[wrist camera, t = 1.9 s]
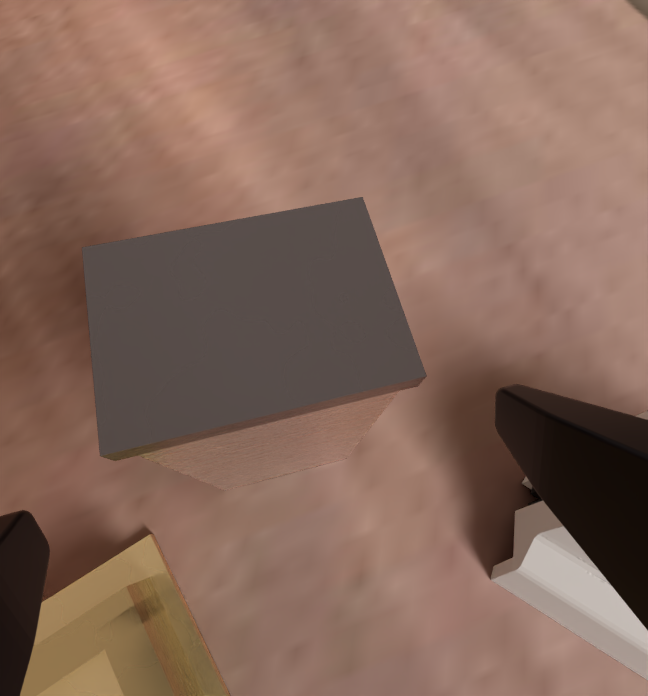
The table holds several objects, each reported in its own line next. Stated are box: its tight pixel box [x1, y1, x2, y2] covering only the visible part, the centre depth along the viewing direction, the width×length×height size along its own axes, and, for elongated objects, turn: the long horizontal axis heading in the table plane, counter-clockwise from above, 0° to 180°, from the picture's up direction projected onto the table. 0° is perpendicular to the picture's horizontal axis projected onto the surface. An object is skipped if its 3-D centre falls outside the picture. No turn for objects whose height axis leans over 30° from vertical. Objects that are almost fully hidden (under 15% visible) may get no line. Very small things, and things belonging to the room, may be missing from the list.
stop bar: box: [82, 197, 426, 491], centre depth 13 cm, size 4×5×12 cm
